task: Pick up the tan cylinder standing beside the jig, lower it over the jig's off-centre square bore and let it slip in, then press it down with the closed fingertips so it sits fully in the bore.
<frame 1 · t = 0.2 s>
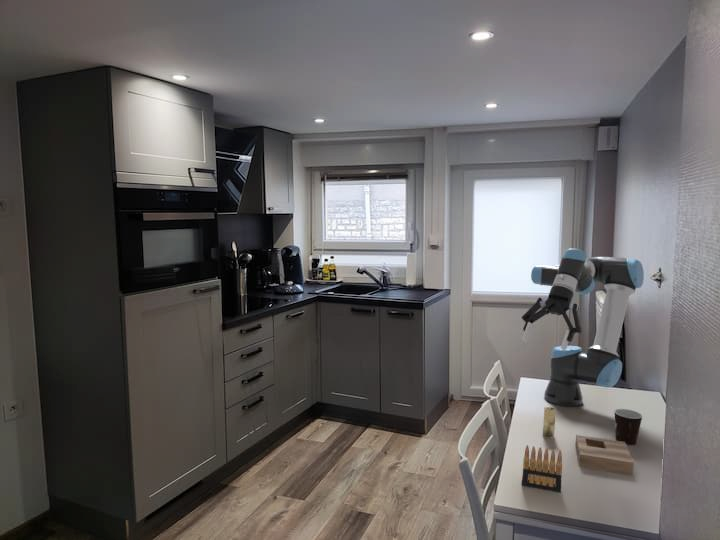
hand: (543, 345, 172), 34 cm above the table, tool tilted 35°, fingers open, 13 cm apart
ammunition clip: (540, 488, 147), on the table
jig: (602, 459, 164), on the table
tan cylinder: (548, 435, 182), on the table
coffee mug: (624, 442, 178), on the table
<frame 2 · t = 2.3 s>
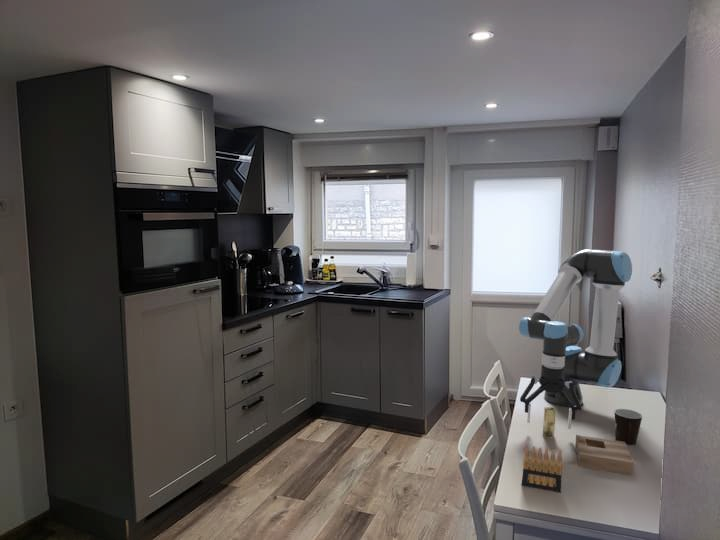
hand: (548, 424, 181), 4 cm above the table, tool pointing down, fingers open, 13 cm apart
nothing on the table moved.
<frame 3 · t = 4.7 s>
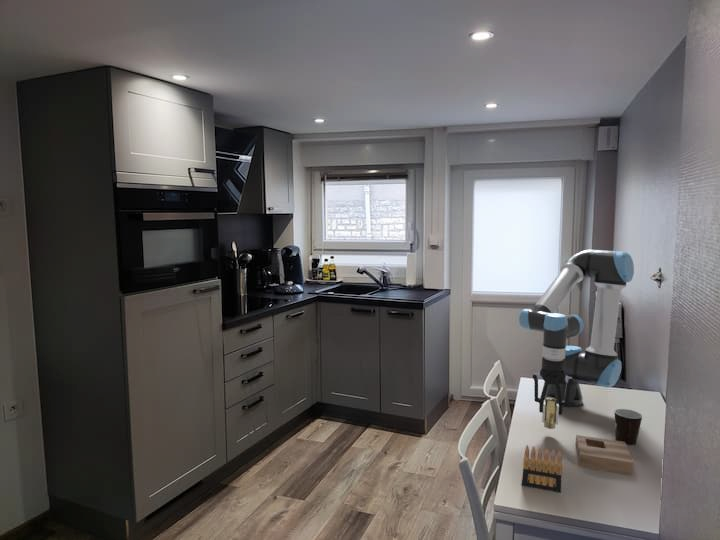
hand: (549, 421, 181), 5 cm above the table, tool pointing down, fingers closed on tan cylinder, 4 cm apart
tan cylinder: (549, 426, 182), point 3 cm above the table, touching gripper
everything else where it was.
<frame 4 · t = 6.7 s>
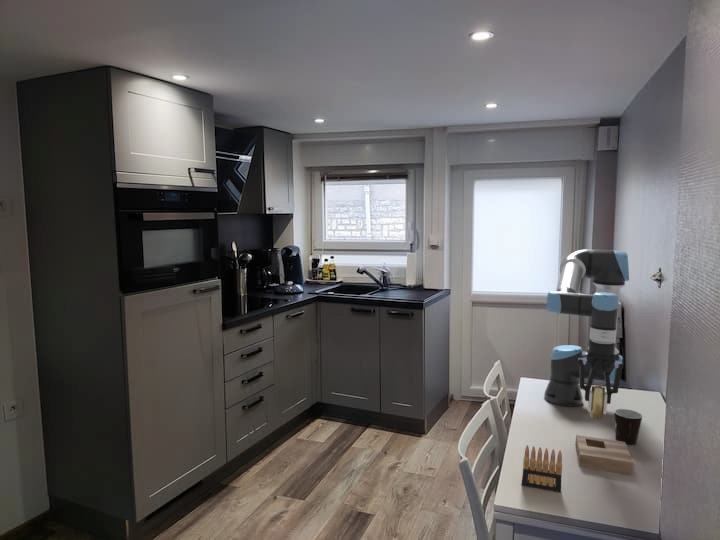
hand: (596, 411, 166), 15 cm above the table, tool pointing down, fingers closed on tan cylinder, 4 cm apart
tan cylinder: (596, 416, 166), point 13 cm above the table, touching gripper
everything else where it was.
when the fingers open (5 cm above the table, at t = 9.1 s): tan cylinder drops 3 cm, resting in jig.
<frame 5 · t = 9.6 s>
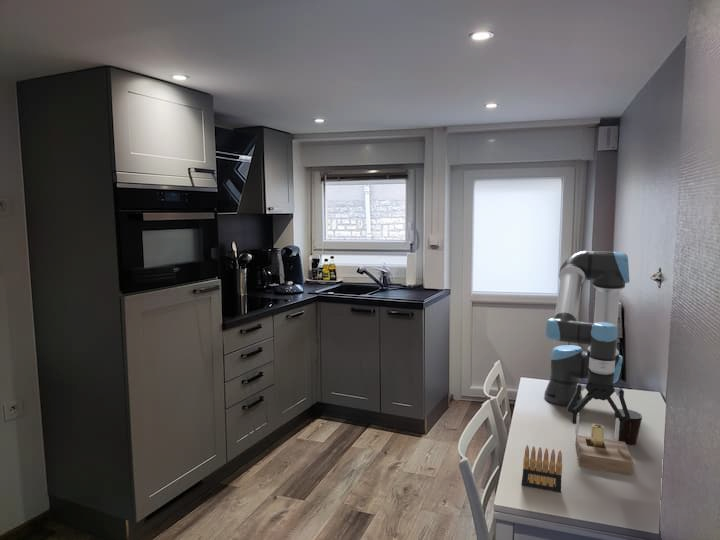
hand: (596, 436, 167), 7 cm above the table, tool pointing down, fingers open, 11 cm apart
tan cylinder: (595, 455, 167), resting in jig
everything else where it was.
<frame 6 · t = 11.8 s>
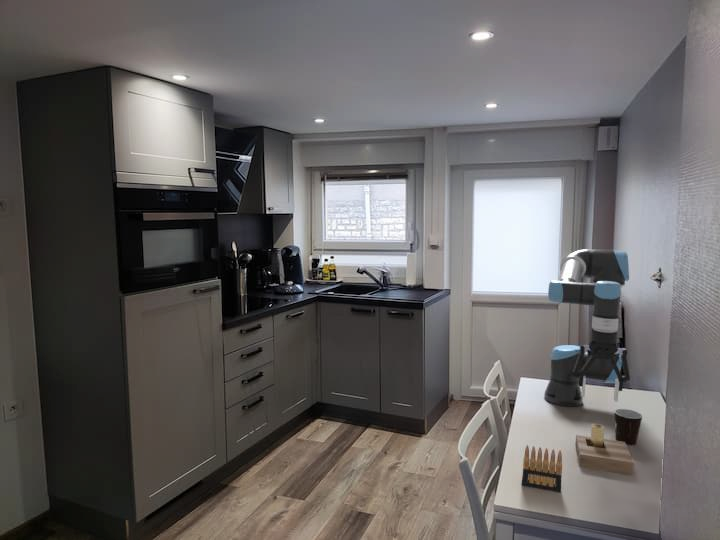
hand: (599, 398, 165), 19 cm above the table, tool pointing down, fingers open, 9 cm apart
nothing on the table moved.
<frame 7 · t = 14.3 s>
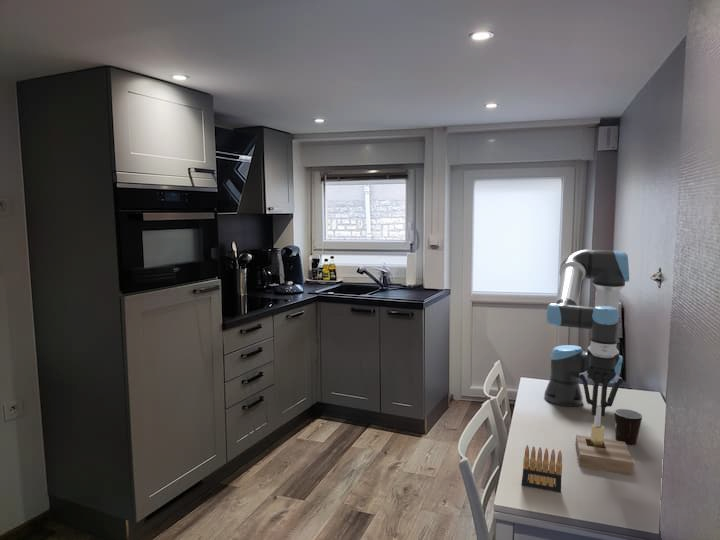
hand: (597, 425, 166), 10 cm above the table, tool pointing down, fingers closed
tan cylinder: (595, 455, 167), resting in jig, touching gripper
everything else where it was.
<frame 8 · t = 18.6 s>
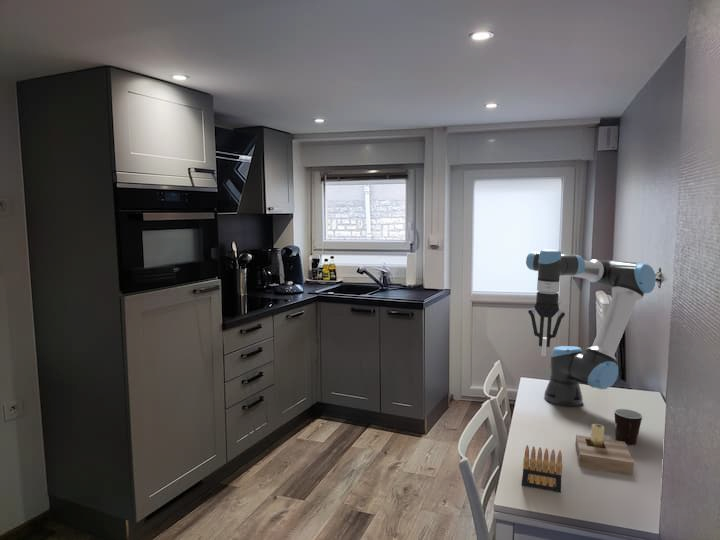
hand: (543, 355, 189), 26 cm above the table, tool pointing down, fingers closed
tan cylinder: (595, 455, 167), resting in jig
everything else where it was.
at the end: tan cylinder 0.4 cm from the target spot on the jig, point 0.0 cm above the jig's base; tan cylinder tilted 0°; the gripper is holding nothing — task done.
